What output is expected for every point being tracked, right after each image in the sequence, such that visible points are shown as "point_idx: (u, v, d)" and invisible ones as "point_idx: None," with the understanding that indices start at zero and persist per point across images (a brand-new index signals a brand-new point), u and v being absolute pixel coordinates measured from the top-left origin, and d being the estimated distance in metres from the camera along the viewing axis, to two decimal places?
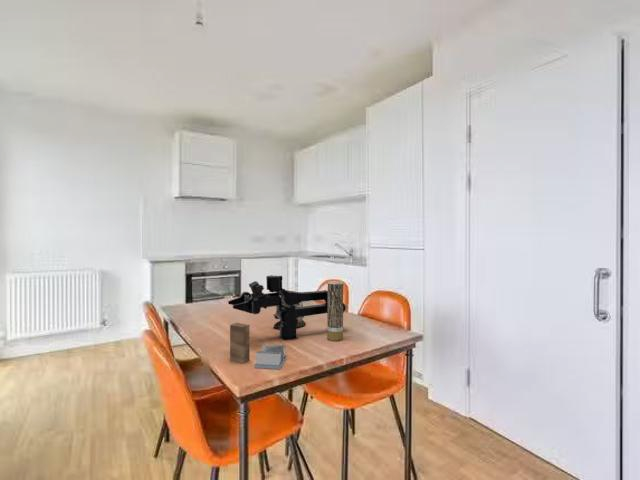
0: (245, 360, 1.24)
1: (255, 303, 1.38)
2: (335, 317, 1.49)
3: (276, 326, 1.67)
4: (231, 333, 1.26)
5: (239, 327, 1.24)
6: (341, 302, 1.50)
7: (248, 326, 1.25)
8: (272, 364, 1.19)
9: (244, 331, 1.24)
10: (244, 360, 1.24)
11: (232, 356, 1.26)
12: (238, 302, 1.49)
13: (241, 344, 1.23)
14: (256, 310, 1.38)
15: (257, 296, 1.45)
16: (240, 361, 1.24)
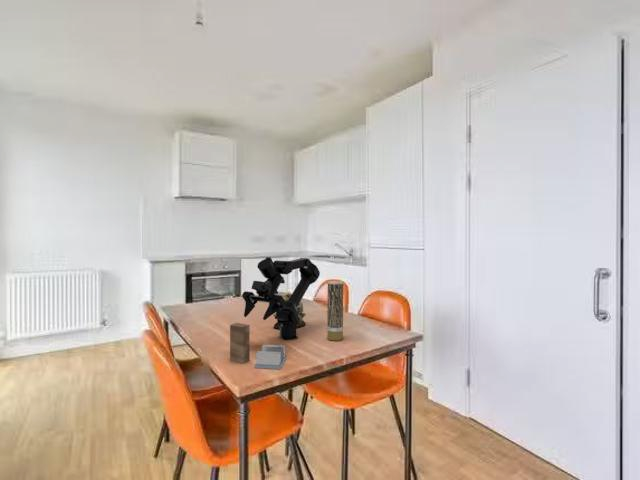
0: (245, 360, 1.24)
1: (281, 301, 1.33)
2: (335, 317, 1.49)
3: (276, 326, 1.67)
4: (231, 333, 1.26)
5: (239, 327, 1.24)
6: (341, 302, 1.50)
7: (248, 326, 1.25)
8: (272, 364, 1.19)
9: (244, 331, 1.24)
10: (244, 360, 1.24)
11: (232, 356, 1.26)
12: (250, 307, 1.38)
13: (241, 344, 1.23)
14: (284, 304, 1.35)
15: (269, 291, 1.36)
16: (240, 361, 1.24)
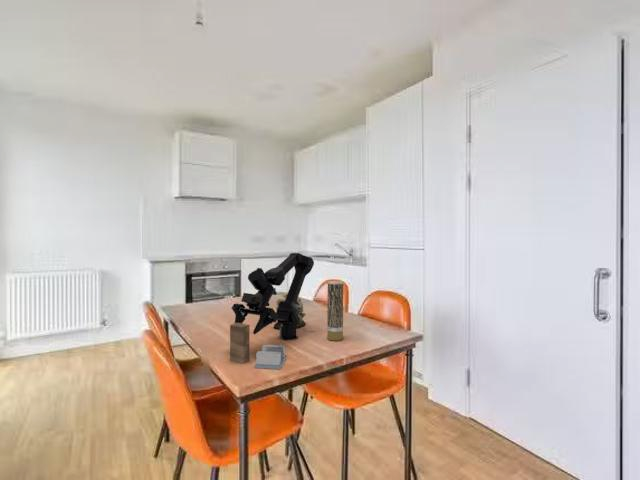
0: (245, 360, 1.24)
1: (272, 314, 1.28)
2: (335, 317, 1.49)
3: (276, 326, 1.67)
4: (231, 333, 1.26)
5: (239, 327, 1.24)
6: (341, 302, 1.50)
7: (248, 326, 1.25)
8: (272, 364, 1.19)
9: (244, 331, 1.24)
10: (244, 360, 1.24)
11: (232, 356, 1.26)
12: (240, 320, 1.33)
13: (241, 344, 1.23)
14: (275, 318, 1.29)
15: (259, 304, 1.31)
16: (240, 361, 1.24)
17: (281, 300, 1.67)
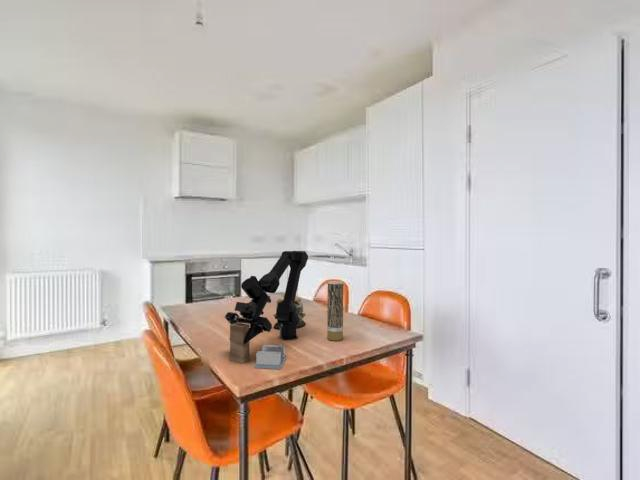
0: (245, 360, 1.24)
1: (266, 324, 1.24)
2: (335, 317, 1.49)
3: (276, 326, 1.67)
4: (231, 333, 1.26)
5: (239, 327, 1.24)
6: (341, 302, 1.50)
7: (248, 326, 1.25)
8: (272, 364, 1.19)
9: (244, 331, 1.24)
10: (244, 360, 1.24)
11: (232, 356, 1.26)
12: None
13: (241, 344, 1.23)
14: (270, 327, 1.26)
15: (253, 313, 1.28)
16: (240, 361, 1.24)
17: (281, 300, 1.67)
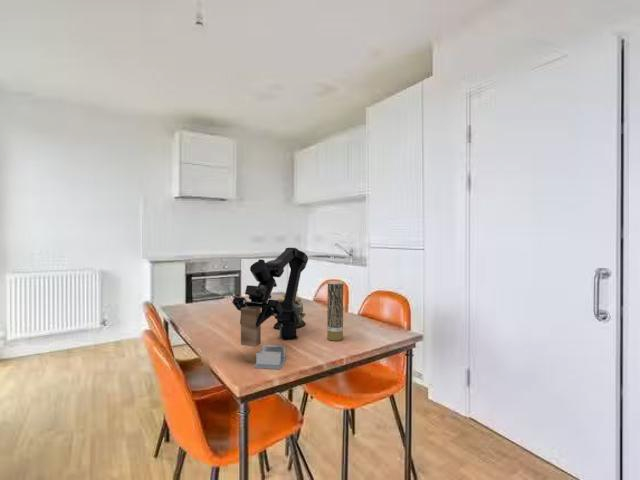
0: (257, 343, 1.23)
1: (278, 306, 1.24)
2: (335, 317, 1.49)
3: (276, 326, 1.67)
4: (242, 317, 1.24)
5: (251, 310, 1.22)
6: (341, 302, 1.50)
7: (259, 309, 1.24)
8: (272, 364, 1.19)
9: (256, 315, 1.22)
10: (256, 343, 1.23)
11: (243, 340, 1.24)
12: None
13: (253, 327, 1.22)
14: (281, 310, 1.26)
15: (263, 296, 1.27)
16: (252, 345, 1.22)
17: (281, 300, 1.67)
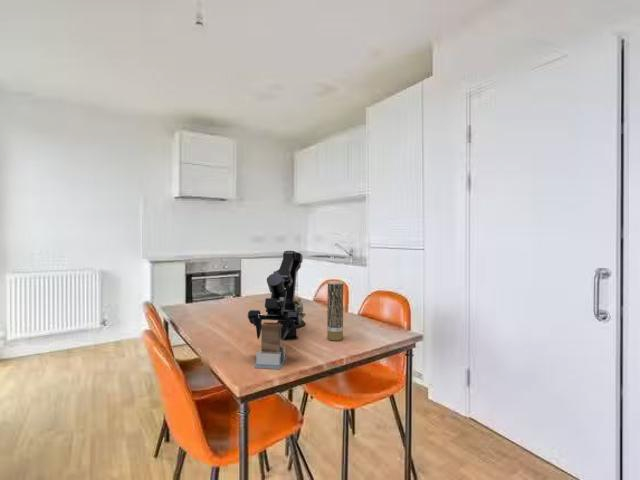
0: None
1: (298, 317, 1.26)
2: (335, 317, 1.49)
3: None
4: (262, 333, 1.22)
5: (273, 326, 1.22)
6: (341, 302, 1.50)
7: (280, 324, 1.24)
8: (272, 364, 1.19)
9: (278, 330, 1.22)
10: None
11: None
12: (260, 328, 1.26)
13: (276, 343, 1.22)
14: (299, 321, 1.28)
15: (281, 309, 1.27)
16: None
17: None
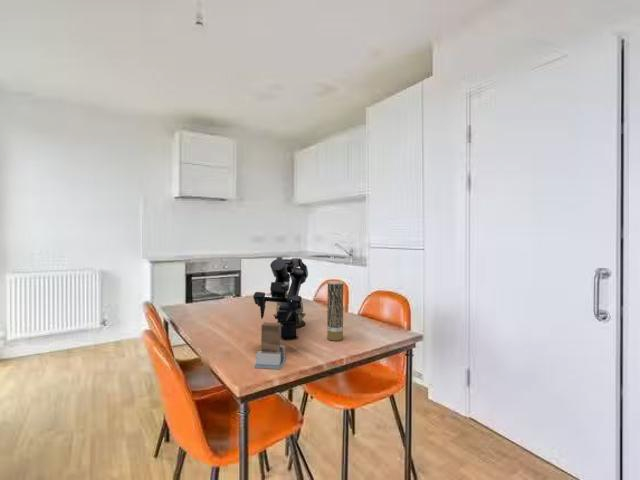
0: None
1: (301, 301, 1.35)
2: (335, 317, 1.49)
3: None
4: (262, 333, 1.22)
5: (273, 326, 1.22)
6: (341, 302, 1.50)
7: (280, 324, 1.24)
8: (272, 364, 1.19)
9: (278, 330, 1.22)
10: None
11: None
12: (263, 308, 1.36)
13: (276, 343, 1.22)
14: (301, 304, 1.38)
15: (285, 292, 1.37)
16: None
17: None
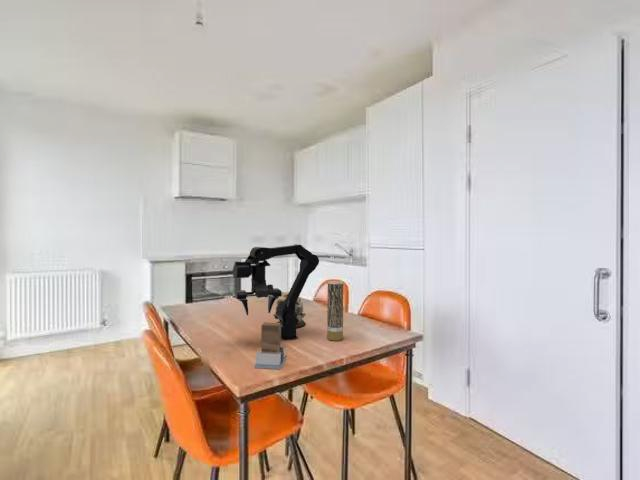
0: None
1: None
2: (335, 317, 1.49)
3: None
4: (262, 333, 1.22)
5: (273, 326, 1.22)
6: (341, 302, 1.50)
7: (280, 324, 1.24)
8: (272, 364, 1.19)
9: (278, 330, 1.22)
10: None
11: None
12: None
13: (276, 343, 1.22)
14: None
15: None
16: None
17: (281, 300, 1.67)
